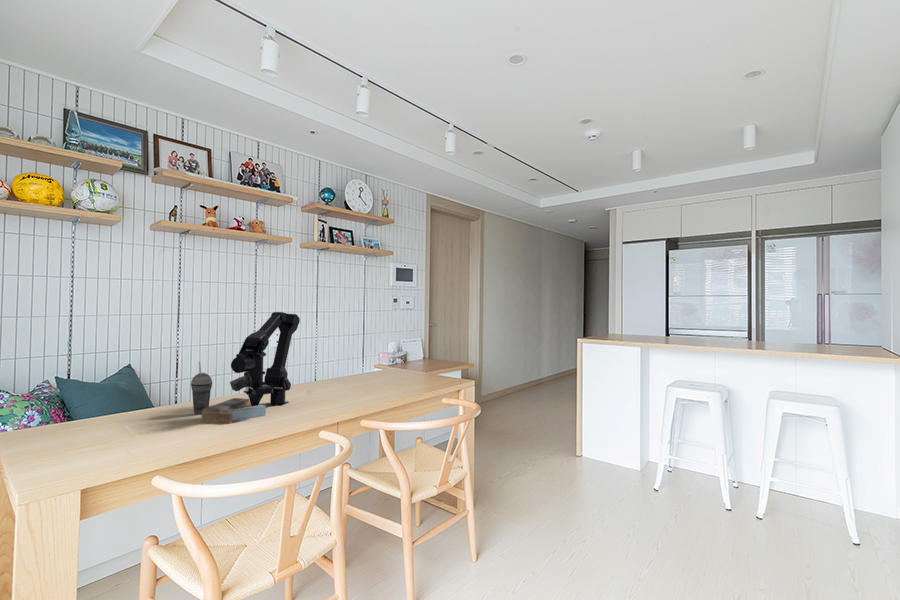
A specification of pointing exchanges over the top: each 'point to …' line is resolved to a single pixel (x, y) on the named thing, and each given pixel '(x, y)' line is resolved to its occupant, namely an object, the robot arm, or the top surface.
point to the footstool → (223, 410)
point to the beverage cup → (201, 391)
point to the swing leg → (247, 412)
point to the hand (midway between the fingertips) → (254, 409)
